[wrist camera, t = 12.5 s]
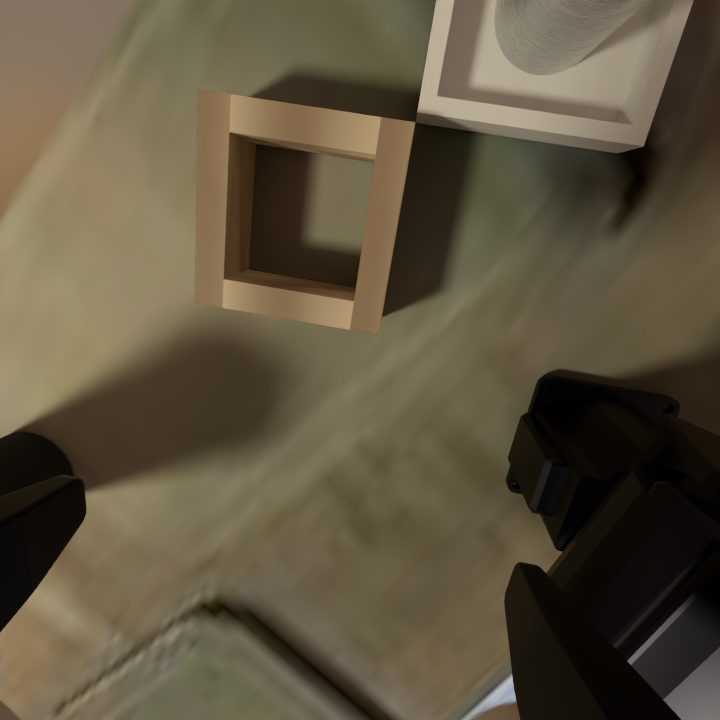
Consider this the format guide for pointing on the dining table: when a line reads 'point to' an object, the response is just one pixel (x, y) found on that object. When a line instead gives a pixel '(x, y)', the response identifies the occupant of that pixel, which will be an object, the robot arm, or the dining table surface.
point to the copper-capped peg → (556, 30)
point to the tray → (550, 80)
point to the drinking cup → (29, 461)
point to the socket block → (235, 202)
